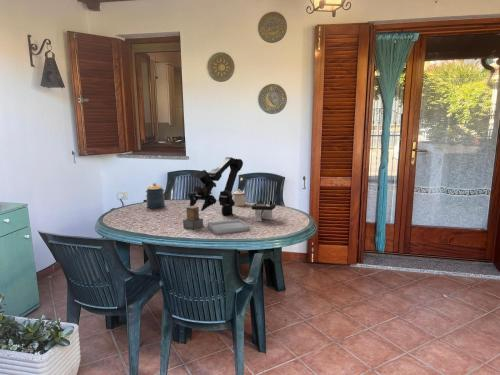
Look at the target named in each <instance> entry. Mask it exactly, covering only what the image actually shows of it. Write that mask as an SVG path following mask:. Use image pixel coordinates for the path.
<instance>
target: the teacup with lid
mask: <svg viewBox="0 0 500 375" xmlns="http://www.w3.org/2000/svg"><path fill="white" fill-rule="evenodd" d="M232 196H233V197H232V199H233V201H234V202H235V204H234V206H235V207H243V206H245V205H246V193H245V191H243V190H241V189H240V188H238V189H237V190H235V191H234V192H232ZM234 206H233V207H234Z"/></svg>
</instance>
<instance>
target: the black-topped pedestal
mask: <svg viewBox="0 0 500 375" xmlns="http://www.w3.org/2000/svg"><path fill="white" fill-rule="evenodd" d="M276 207H277V206H276V203H273V199H271V200H270V201H268V202H266V201H265V200H256V201H255V203H254V204H253V205H251V210H254V214H255V215H254V217H255V218H254V220H255V221H254V222H263V220H273V210H275V209H276Z"/></svg>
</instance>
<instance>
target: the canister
mask: <svg viewBox="0 0 500 375" xmlns="http://www.w3.org/2000/svg"><path fill="white" fill-rule="evenodd" d="M163 188H164V187H163V186H162V185H159V184H157V183H156V182H154V183H153V182H152V185H148V186H147V187H146V191H145V192H146V195H145V198H146V208H148V209H160V208H164V207H165V206H166V202H165V194H164V192H165V190H164V189H163Z"/></svg>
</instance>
